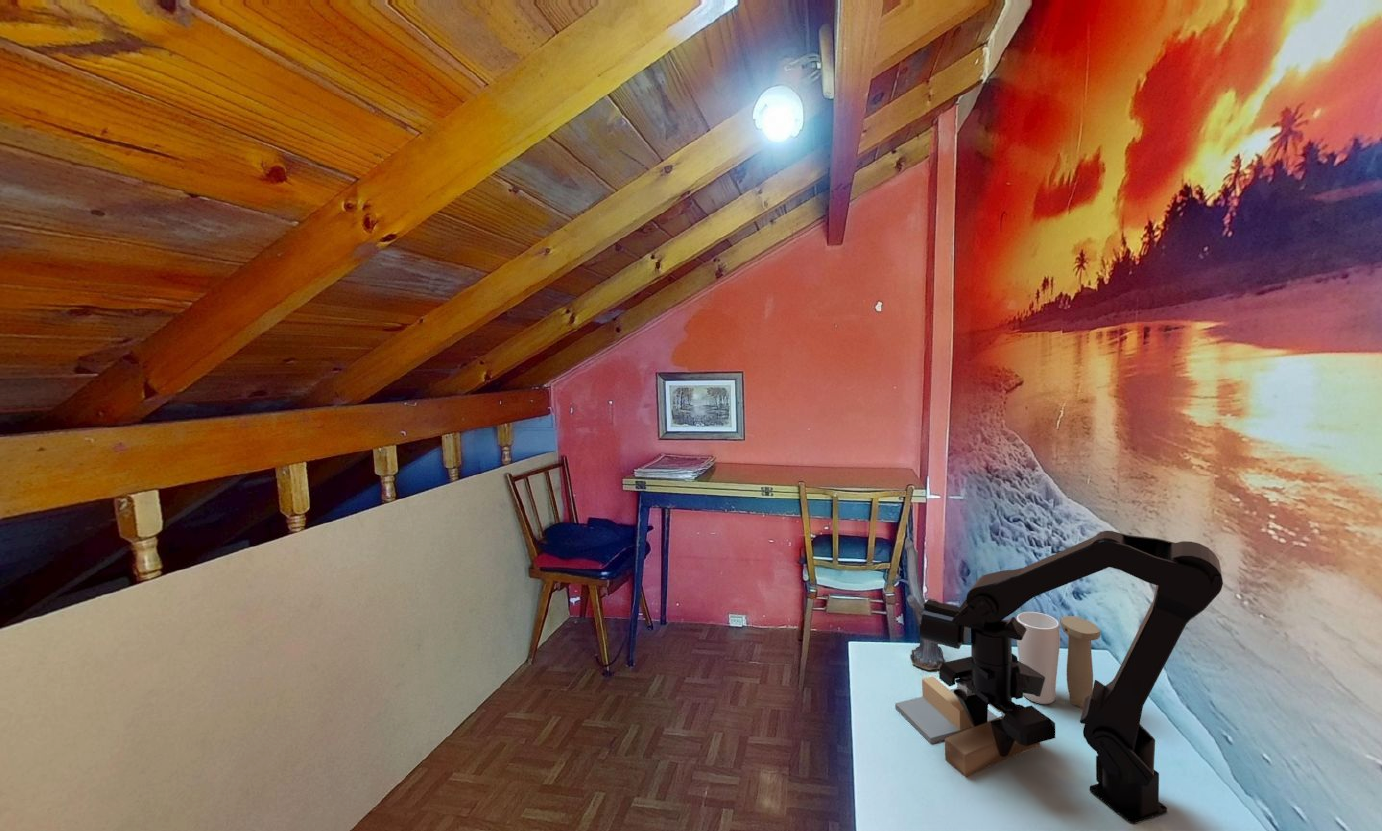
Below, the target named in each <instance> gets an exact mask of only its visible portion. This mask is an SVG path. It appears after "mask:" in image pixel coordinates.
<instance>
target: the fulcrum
mask: <svg viewBox="0 0 1382 831" xmlns="http://www.w3.org/2000/svg"><path fill="white" fill-rule="evenodd" d="M921 689H922V690H921V691H922V696H919V697H915V698H911V699H907V700H904V701H899V702H895V708H894V709H896V711H898V712H899V714H900V715H901V716H903V717H904V718H905V720H907V722H908V723H910V724H911V726H912V727H914V729H915V730H916V731H918V732H919V733H920V734H921V736H922V737H924V739H926V741H927V742H928V743H929V744H930V745H931V744H934V743H937V742H938V743H939V742H941V741H945V738H948V737H950V736H953V735H955V734H958V733H960V732H963V731H965V730H968V729H970V728H973V727H974V726H973V724H972V723H971V721H970V719H969V717H968V715H967V713H966V712H965V710H964V708H963V706H962V705H961V703H960V701H959V699H958V698H957V696H956V695H955V694H954V690H955V689H957V687H956V688H952V689H949V688H948V687H947V686H946V685H944V684H943V683H942V682H941V681H940V680H939V679H937V678H936V677H934V676H933V675H932V676H928V677H925V678H922V679H921ZM998 717H999V716H997V715H996V714H994V713H993V712H992V711H991V710H990V709H988V720H987V722H988V721H991V720H993V719H996V718H998Z"/></svg>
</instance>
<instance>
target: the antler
mask: <svg viewBox="0 0 1382 831" xmlns="http://www.w3.org/2000/svg"><path fill="white" fill-rule="evenodd" d="M904 541H905V543H904V548H905V551H906V559H907V561H906V562H907V563H906V564H907V567H906V569H907V584H908V590H909V594H908V595H907V597H906V602H907V603H908V605H909V607H910V608H911V609H912V610H913V613H914V615H915V618H916V621H917V624H918V627H919V626H920V624H921V619H922V614H923V611H924V604H925V602H926V599H925V596H924V595H923V591H922V587H921V581H920V576H919V566H918V564H919V562H918V557H919V556H918V555H919V551H918V549H915V547H914V543H913V541H912V539H911V538H910V536H907V537H906V538H905V540H904ZM919 632H920V630H919ZM919 636H920V635H919ZM909 656H910V661H911V663H912V665H914V666H916V667H919V668H921V669H925V670H927V671H928V670H929V671H931V670H939V668H940V667H941V665H942V664H943V663H945V662H947V661H946V659H945V658H944V652H943V648H942V647H941V646H939V644H937V643H934V642H930V641H926V640H923V639H922V638H921V636H920V639H919V645H918V646H916V647H915V649H911V654H910V655H909Z"/></svg>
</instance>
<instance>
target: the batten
mask: <svg viewBox="0 0 1382 831" xmlns="http://www.w3.org/2000/svg"><path fill="white" fill-rule="evenodd" d="M997 717H998V718H996V719H993V720H991V721H994V720H998V719H1000V716H997ZM1040 745H1041V742H1040V743H1036V744H1032V745H1029V746H1024V745H1020V744H1019V743H1018V742H1017V741H1015V742H1014V744H1013V746H1012V748H1011V750H1010V752H1009V754H1008V756H1005V757H1002V756H1001V755H1000V753H999V751H998V748H997V744H996V741H995V738H994V734H993V731H992V727H991V724H990V721H988V722H986V723H983V724H981V725H978V726H975V727H973V728H970V729H968V730H965V731H963V732H960V733H958V734H955V735H953V736H950V737H948V738H945V740H944V754H945V755H944V756H945V757H944V758H945V759H944V760H945V762H947V763H948V764H949V765H950V766H952V767H953V768H954V769H956V770H957V771H958V772H959V773H960V774H961V775H962V776H964V777H965V778H966V777H970V776H971V775H974V774H976V773H978V772H981V771H983V770H985V769H988V768H990V767H992V766H995V765H997V764H999V763H1001V762H1004V761H1006V760H1009V759H1010V758H1013V757H1015V756H1018V755H1019V754H1020V755H1021V754H1022V753H1025V752H1027V751H1030V750H1033V749H1034V748H1036V747H1039V746H1040Z"/></svg>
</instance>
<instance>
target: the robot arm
mask: <svg viewBox="0 0 1382 831" xmlns="http://www.w3.org/2000/svg"><path fill="white" fill-rule="evenodd" d="M1108 568H1110V569H1111V568H1112V569H1115V570H1117V571H1122V572H1124V573H1126V574H1128V575H1131V576H1132V577H1133V578H1134V577H1135V578H1137V579H1140V580H1142V581H1143V582H1145V583H1148V584H1150V585H1154V586H1155V589H1154V595H1153V599H1152V602H1151V604H1150V605H1149V608H1148V610H1147V611H1146V614H1145V616H1144V618H1143V620H1142V622H1141V624H1140V626H1139V628H1138V630H1137V632H1136V634H1135V636H1134V638H1133V640H1132V642H1131V644H1130V646H1129V648H1128V650H1127V652H1126V654H1125V656H1124V658H1123V660H1122V662H1121V664H1120V666H1119V668H1118V670H1117V673H1116V674H1115V676H1114V678H1113V679H1112V680H1111V681H1110V682H1109V683H1107V684H1106V685H1105V684H1103V683H1102V682H1100V681H1098V680H1097V679H1094V681H1093V690H1092V693H1091V694H1090V695H1089V696H1088V697H1086V698H1085V702H1084V706H1083V708H1082V711H1081V715H1080V719H1079V723H1080V724H1082V725H1083V724H1084V726H1083V731H1082V733H1083V734H1082V735H1083V738H1084V740H1085V741H1086V743H1087V744H1088V746H1090V748H1091V749H1092V750H1094V751H1095V752H1096V754H1097V755H1096V756H1095V780H1096V782H1097V783H1095V784H1091V785H1090V786H1089V792H1091V793H1092V794H1093V795H1094V796H1096V797H1097V798H1099V800H1101V801H1102V802H1103V803H1104V804H1106V805H1107V806H1109V807H1110V809H1112V810H1113V811H1114V812H1116V813H1117V814H1118V815H1120V816H1121V817H1122V818H1123V819H1125V820H1126V821H1127V822H1128V823H1130V824H1138V823H1141V822H1145V821H1147V820H1150V819H1152V818H1155V817H1158V816H1161V815H1164V814H1166V813H1168V807H1167V806H1166V805H1165V804H1163V803H1161V802H1160V801H1159V798H1160V796H1159V795H1160V772H1158V771H1157V770H1155V752H1156V750H1155V749H1156V739H1155V738H1154V736H1152V734H1150V733H1149V731H1148V730H1146V728H1145V727H1143V725H1141V718H1142V714H1143V707H1144V705H1145V703H1146V702H1147V699H1148V697H1149V696H1150V694H1151V692H1152V690H1153V688H1154V686H1155V684H1156V683H1157V681H1158V679H1159V676H1160V675H1161V673H1162V671H1163V670H1164V668H1165V666H1166V664H1167V662H1168V660H1169V658H1170V656H1171V654H1172V652H1173V650H1174V648H1175V647H1176V644H1177V643H1178V640H1179V639H1180V637H1181V635H1182V634H1183V631H1184V629H1185V627H1186V625H1187V624H1188V623H1189V622H1190V621H1191V620H1193V619H1194V618H1196V617H1197V616H1199V614H1201V613H1202V612H1203V611H1205V609H1206V608H1207V607H1208V606H1209V605H1210V604H1211V603H1212V602H1213V601H1214V599H1215V598H1216V597H1218V595H1219V594H1220V593H1221V592H1222V589H1223V585H1224V583H1223V582H1224V581H1223V576H1222V575H1223V574H1222V569H1221V568H1222V567H1221V564H1220V560H1219V558H1218V556H1217V555H1216V553H1215V552H1214V551H1212V550H1211V549H1210V548H1209V547H1207V546H1206V545H1203V544H1201V543H1199V542H1195V541H1178V542H1173V541H1169V540H1166V539H1165V540H1164V539H1160V538H1156V537H1149V536H1139V535H1130V534H1125V533H1121V532H1118V531H1114V530H1103V531H1099V532H1098V533H1096V534H1095V535H1094V536H1093V537H1090V538H1088V539H1086V540H1084V541H1081V542H1079V543H1077V544H1075V545H1072V546H1070V547H1068V548H1065V549H1063V550H1061V551H1059V552H1055V553H1054V554H1052V555H1051V554H1050V555H1049V556H1046V557H1045V558H1043V559H1040V560H1038V561H1035V562H1034V563H1031V564H1028V565H1026V566H1024V567H1021V568H1017V569H1006V570H1005V569H1004V570H999V571H995V572H991V573H987V574H984V575H982V576H980V577H979V578H978V579H977V580H976V581H975V583H974V584H973V585H972V587H971V588H970V590H969V591H968V592H967V593H966V598H965V599H964V601H963V602H962V604H961V605H960V606H957V605H952V604H948V603H947V604H946V603H942V602H939V601H937V600H935V599H929V598H928V599H926V600H925V604H924V611H923V614H922V619H921V624H920V626H919V625H918V629H919V630H920V631H919V636H921V638H922V639H923V640H926V641H930V642H934V643H937V644H938V645H942V646H946V647H949V648H952V649H956V650H959V649H960V648H961V647H962V645H968V642H969V641H970V640H971V641H970V647H971V649H970V650H971V652H970V653H971V656H966V657H963V658H958V659H954V660H951V661H946V662H945V663H943V664H942V665H941V667H940V668H939V669H938V677H939V679H938V680H941V681H942V682H943V683H944V684H945V685H947V686H948V687H953V686H955V685H956V684H957V687H956V688H957V689H955V688H954V689H955V690H954V694H955V695H956V696H957V698H958V699H959V701H960V703H961V705H962V706H963V708H964V710H965V712H966V713H967V715H968V717H969V719H970V721H971V723H972V724H973V726H974V727H975V726H978V725H981V724H983V723H986V722H987V720H988V710H989V706H990V707H991V708H993V709H994V710H995V711H997V713H1000V714H1001V716H999V717H1000V719H998V720H994V721H990V724H991V727H992V731H993V734H994V738H995V741H996V744H997V748H998V751H999V753H1000V755H1001V756H1002V757H1005V756H1008V754H1009V752H1010V750H1011V748H1012V746H1013V744H1014V742H1015V741H1017V742H1018V743H1019V744H1020V745H1024V746H1029V745H1032V744H1036V743H1040V744H1041V743H1043V742H1045V741H1050V740H1053V739H1056V722H1055V721H1054V720H1052V719H1051V718H1050V717H1048V716H1047V715H1045V714H1044V713H1043V712H1042V711H1040V710H1039V709H1037V708H1035V707H1034V706H1033V705H1028V706H1024V705H1022V704H1017V703H1015V702H1014V701H1012V699H1016V700H1019V699H1022V698H1024V695H1023V693H1026V694H1033V695H1035V696H1038V697H1039V696H1040V695H1041V691H1042V688H1043V684H1044V681H1045V677H1044V676H1043V675H1041V674H1040V673H1038V672H1037V671H1035V670H1033V669H1032V668H1030V667H1029V666H1027V665H1025V664H1023V663H1021V662H1019V658H1018V656H1017V655H1016V654H1014V653H1013V651H1012V650H1013V649H1012V648H1013V646H1012V643H1013V642H1012V641H1013V640H1016V641H1017V640H1022V639H1023V637H1024V634H1025V632H1026V628H1025V627H1024V626H1023V625H1022V624H1021V623H1019V622H1018V621H1017V617H1014V616H1012V617H1011V618H1008V619H1005V618H1007V617H1009V616H1011V614H1014V613H1015V612H1016V611H1017V610H1019V609H1020V608H1022V606H1024V605H1025V604H1026V603H1027V602H1029V601H1030V600H1032V599H1034V598H1035V597H1038V596H1041V595H1042V594H1046V593H1047V592H1050V591H1053V590H1055V589H1057V588H1060V587H1063V586H1066V585H1067V584H1070V583H1073V582H1075V581H1078V580H1080V579H1083V578H1086V577H1088V576H1091V575H1093V574H1095V573H1098V572H1100V571H1103V570H1105V569H1108ZM969 639H970V640H969ZM1012 639H1013V640H1012Z"/></svg>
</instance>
